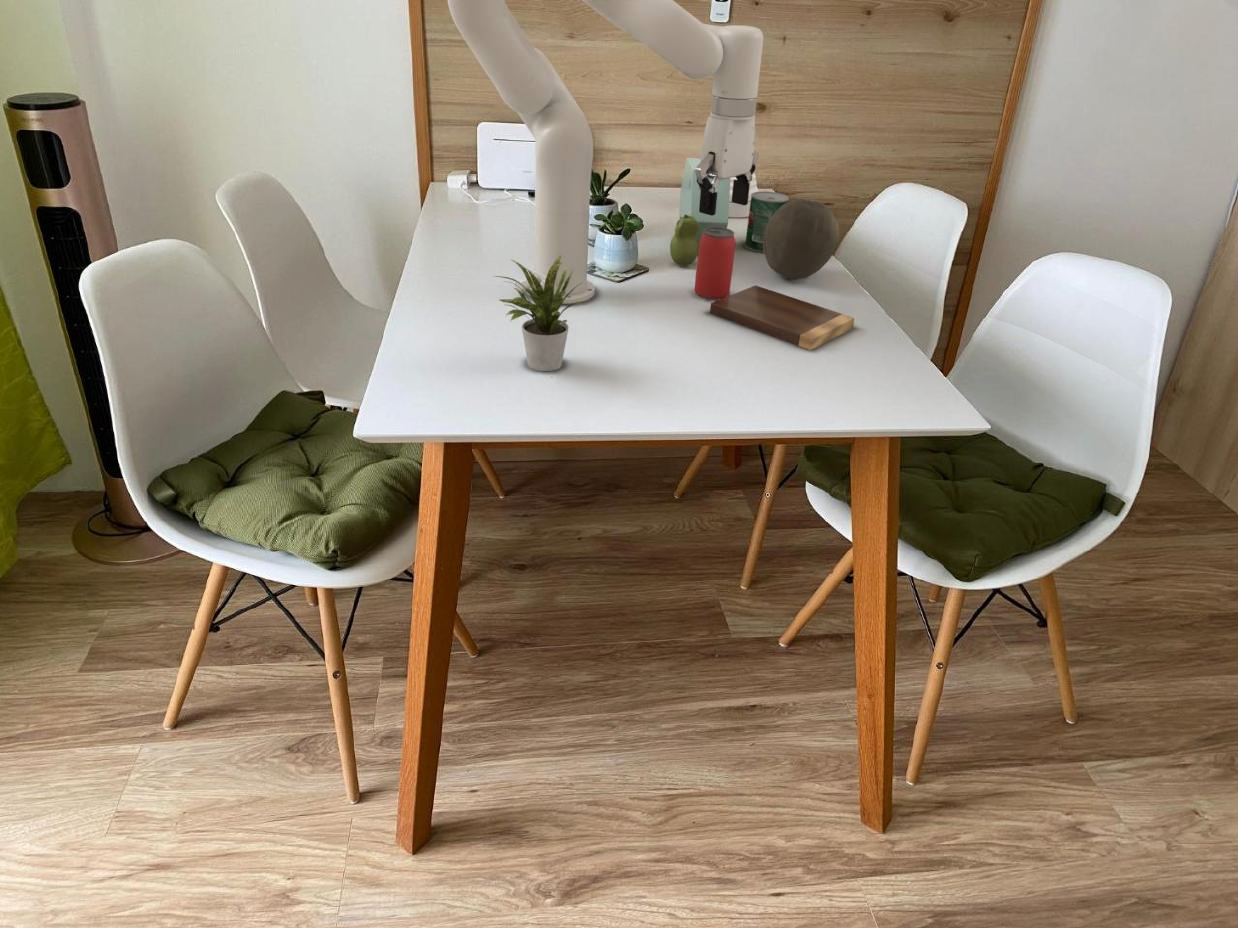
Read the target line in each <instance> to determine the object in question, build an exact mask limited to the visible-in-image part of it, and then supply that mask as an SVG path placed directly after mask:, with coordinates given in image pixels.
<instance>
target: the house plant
mask: <svg viewBox="0 0 1238 928" xmlns="http://www.w3.org/2000/svg"><path fill="white" fill-rule="evenodd" d="M560 259H561V256H559V257H558V258H557V259H556V261H555V262H554V264H553V265H552V266H551V267H550V269H549V272H548V274H547V277H546V279H545V286H544V291H543V288H542V286H541V284H540V282H539V281H538V279H537V278H536V277H535V276H534V274H532V272H531V270H529V269H528V268H526V267H525V266H523V265H522V264H521V263H520V262H517V261H516V260H512V259H511V261H512V262H513V263H515V264H516V265H517V266H518V267H519V268H520V269H521V271H522V272H523V274H524V277H525V279H527V281H528V283H529V285H530V287H531V289H532V290H530V289H528V288H525V287H524V286H523V285H522V284H521V283H519V282H518V281H519V280H516V279H514V278H511V277H508V276H502V275H493V277H494V278H495V277H496V278H501V279H502V278H503V279H507V280H509V284H513V285H514V287H513V289H514V290H515V291H516V292H517V293H518V295H519V296H517V297H514V298H508V299H507V298H503V299H499V301H500V302H502V303H506V304H505V306H508V307H511V308H514V309H511V310H510V311H508V312H507V313H506V315H505V317H507V316H509V315H512V316H511V318H510V320H509V323H511V322H512V321H513V320H515V319H519V318H520V317H522V316H525V317H526V318H528V316H527V315H529V316H530V317H531V318H529V319H528V320H525V321H523V323H522V324H521V331H522V337H523V342H524V350H525V354H526V361H527V365H528V367H529V368H530V369H532V370H535V371H538V372H553V371H556V370H559V369H560V368H561V367H562V365H563V359H564V353H565V350H566V343H567V339H568V334H569V325H568V323H567V322H568V320H567V319H563V320H561V319H559V318H560V317H561V316H562V314H563V312H565V311H566V310H567V309H568V308H570V307H572V306H575V305H581V304H583V305H586V303H585V301H583V302H576V303H572V304H568V305H567V306H566V307H565V308H564V309H562V311H561V312H560V311H559V310H560V308H561V306H562V305H563V304H562V303H563V301H564V300H565V298H566V297H567V296H568V295H569V294H570V293H571V292H572V291H573V290H574V289H575V288H576V287H577V286H578V285H577V286H575V287H574V288H573V289H572V290H571V291H570V292H569V293H568V294H567V295H566V296H565V297H564V298H563V296H564V294H565V292H566V291H567V290H566V291H565V289H566V287H567V285H568V283H569V281H570V278H571V275H572V271H573V270H572V271H571V273H570V275H569V277H568V278H567V279H566V281H565V284H564V286H563V288H562V290H561V292H560V289H561V286H562V284H563V281H564V279H565V276H566V271H567V266H566V268H565V270H564V272H563V274H562V276H561V280H560V282H559V285H558V287H557V290H556V293H555V294H554V285H555V280H556V276H557V272H558V269H559V265H561V264H562V263H560ZM530 276H531V277H530ZM531 279H532V280H531ZM511 281H513V282H511ZM532 281H533V282H532ZM514 282H515V283H516V282H517V283H519V284H520V285H522V286H523V288H525V290H526V291H522V292H521V291H520V290H518V289H516V288H515V285H516V284H515V283H514ZM503 283H507V281H503ZM533 283H534V284H533ZM580 284H581V283H580ZM580 284H579V285H580ZM516 286H517V285H516ZM534 286H535V287H534ZM518 287H519V286H518ZM519 288H520V287H519ZM535 288H536V289H535ZM520 289H521V288H520ZM521 290H522V289H521ZM568 291H569V290H568ZM525 292H526V294H527V293H528V294H529V295H530V296H529V295H528V294H527V295H528V296H529V297H531V299H532V301H533V302H534V303H532V301H530V298H529V297H528V296H527V295H526V294H525ZM559 292H560V293H559ZM507 303H508V304H507ZM511 304H512V305H511ZM517 307H519V308H521V309H519V308H517ZM522 309H525V310H522ZM526 310H528V311H529V312H530V313H529V312H528V311H526Z"/></svg>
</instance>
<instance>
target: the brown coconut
mask: <svg viewBox="0 0 1238 928" xmlns="http://www.w3.org/2000/svg"><path fill="white" fill-rule="evenodd" d="M839 241H840V226H839V223H838V220H837V218H836V216H835V215H834V214H833V212H832V210H831V209H830V208H829V207H828V206H827V205H824V204H823V203H822V202H818V201H812V200H809V199H804V198H799V199H794V200H790V201H788V203H785V204H784V205H782V206H781V207H780V208H779V209H778V210H777V211H776V212H775V213H774V215H773V216H772V217H771V219H770V220H769V222H768V224H767V226H766V230H765V233H764V238H763V249H764V253H763V254H764V258H765V261H766V263H767V265H768V267H769V268H770V269H771V270H772V271H774V273H776V274H778V275H780V276H782V277H783V278H785V279H786V280H789V281H796V280H801V279H806V278H808V277H811V276H813V275H814V274H816V273H817V272H819V271H820V270H821V269H822V268H824V266H825V265H826V264H827V263H828V262H829V261H830V259H831V258H832V256H833V255H834V253H835V251H836V249H837V247H838V244H839Z"/></svg>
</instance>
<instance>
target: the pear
mask: <svg viewBox="0 0 1238 928" xmlns="http://www.w3.org/2000/svg"><path fill="white" fill-rule="evenodd" d="M679 219H680V220H679ZM679 219H678V220H677V221H676V224H675V227H674V234H673V236H672V237H671V241H670V244H669V251H670V257H671V260H672V261H673V262H674V263H675V264H676V265H678V266H681V267H685V266H686V267H687V266H690V265H691V264H693V263H694V262H695V261H696V260H697V258H698V242H697V238H696V233H697V232H698V230H699V225H698V222H697V220H695V219H694V217H693V216H690V215H686V214H685V215H684V217H681V216H680V215H679Z"/></svg>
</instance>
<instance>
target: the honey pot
mask: <svg viewBox="0 0 1238 928" xmlns="http://www.w3.org/2000/svg"><path fill="white" fill-rule="evenodd" d="M756 175H757V174H756V173H755V172H754V173H753V174H752V181H751V182H748V183H750V187H749V196H748V204H747V205H740V204H736V203H733V202H732V191H733V182H734V180H737V179H736V177H731V178H730V194H729V215H728V218H749V210H750V203H751V194H752V193H754V192H759V188H758V186H757V184H758V183H757V182H758V181H757V179H756V178H757V176H756Z"/></svg>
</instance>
